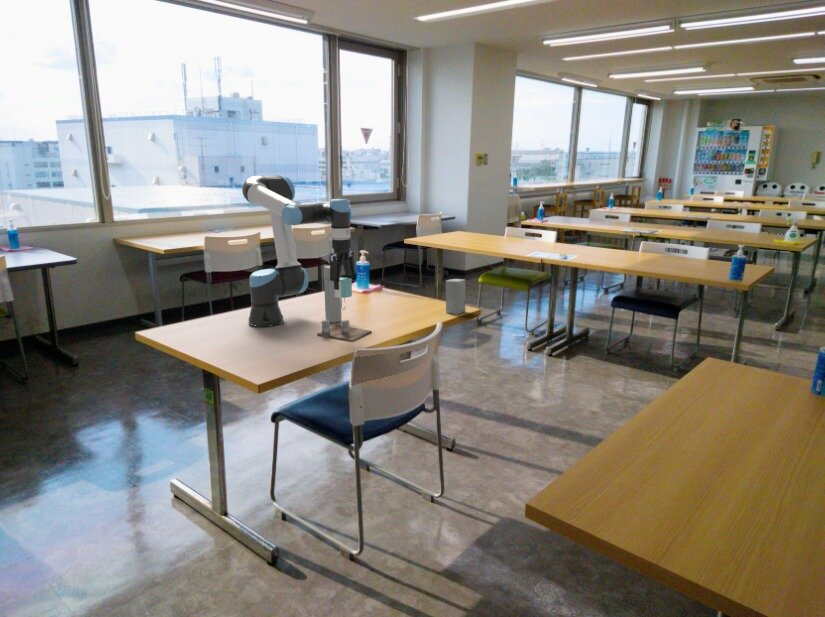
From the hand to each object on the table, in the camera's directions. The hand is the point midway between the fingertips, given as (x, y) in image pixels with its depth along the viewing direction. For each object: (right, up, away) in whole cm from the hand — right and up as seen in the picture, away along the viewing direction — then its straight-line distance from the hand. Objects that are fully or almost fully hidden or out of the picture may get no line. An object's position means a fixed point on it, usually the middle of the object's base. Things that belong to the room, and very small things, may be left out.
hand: (343, 295), depth 226 cm
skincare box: (+49, -7, +41) cm, 64 cm away
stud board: (0, -16, +7) cm, 18 cm away
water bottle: (-7, -11, +26) cm, 29 cm away
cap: (0, 0, 0) cm, 0 cm away
